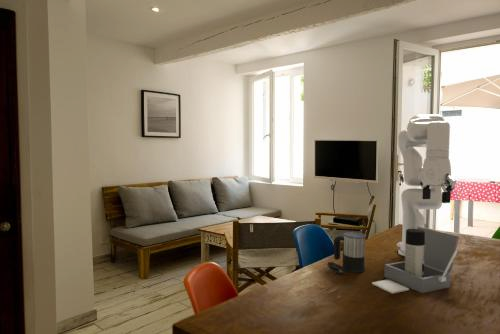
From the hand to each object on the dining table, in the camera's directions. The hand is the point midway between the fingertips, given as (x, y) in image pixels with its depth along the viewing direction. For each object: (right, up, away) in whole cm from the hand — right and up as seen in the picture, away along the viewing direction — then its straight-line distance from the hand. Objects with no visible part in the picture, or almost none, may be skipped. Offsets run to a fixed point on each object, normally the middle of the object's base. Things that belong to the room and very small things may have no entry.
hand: (435, 200), depth 140 cm
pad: (-18, -31, -2) cm, 36 cm away
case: (-4, -31, +3) cm, 32 cm away
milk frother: (-29, -31, +16) cm, 45 cm away
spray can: (-7, -31, +3) cm, 32 cm away
